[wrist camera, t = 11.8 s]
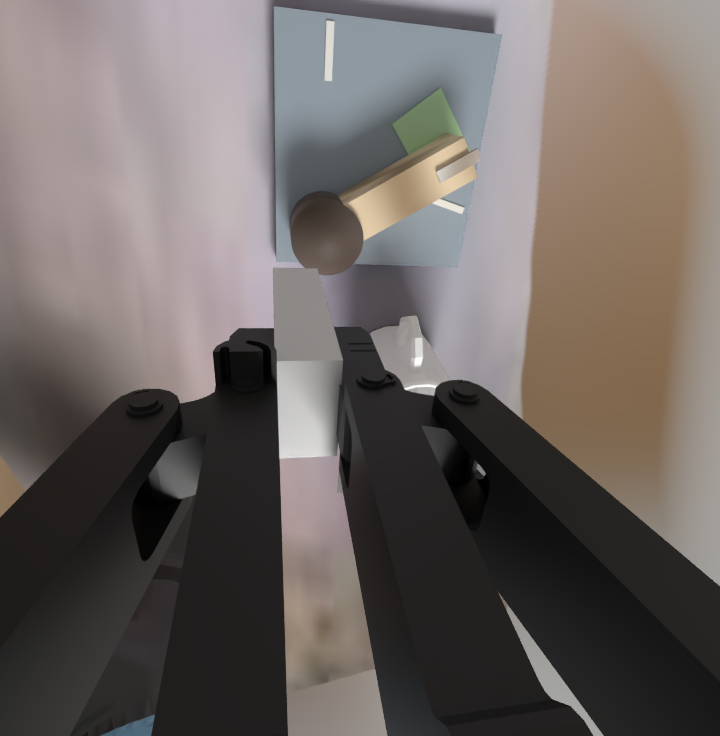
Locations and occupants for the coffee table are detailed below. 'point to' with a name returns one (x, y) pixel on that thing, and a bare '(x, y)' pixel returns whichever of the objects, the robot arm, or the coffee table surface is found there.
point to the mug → (409, 356)
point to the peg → (377, 203)
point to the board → (375, 118)
